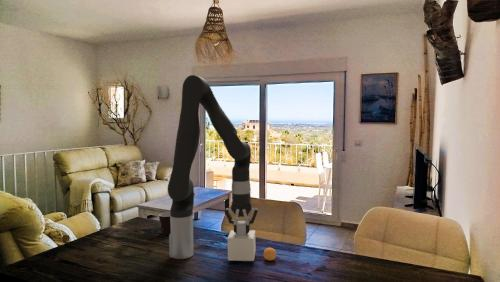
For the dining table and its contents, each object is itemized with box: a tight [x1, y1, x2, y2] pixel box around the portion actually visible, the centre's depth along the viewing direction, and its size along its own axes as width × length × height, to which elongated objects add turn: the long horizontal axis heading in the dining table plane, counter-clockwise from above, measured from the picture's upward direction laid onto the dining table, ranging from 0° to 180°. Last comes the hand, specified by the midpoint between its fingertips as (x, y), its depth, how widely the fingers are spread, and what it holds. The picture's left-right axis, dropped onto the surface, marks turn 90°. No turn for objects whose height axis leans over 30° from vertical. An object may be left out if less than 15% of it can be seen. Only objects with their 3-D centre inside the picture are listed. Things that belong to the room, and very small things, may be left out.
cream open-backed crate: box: [226, 220, 257, 262], centre depth 136 cm, size 10×10×14 cm
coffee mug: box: [158, 211, 171, 236], centre depth 171 cm, size 12×9×10 cm
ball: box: [263, 247, 277, 261], centre depth 136 cm, size 5×5×5 cm
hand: (241, 233), depth 136 cm, fingers closed on cream open-backed crate, 3 cm apart
